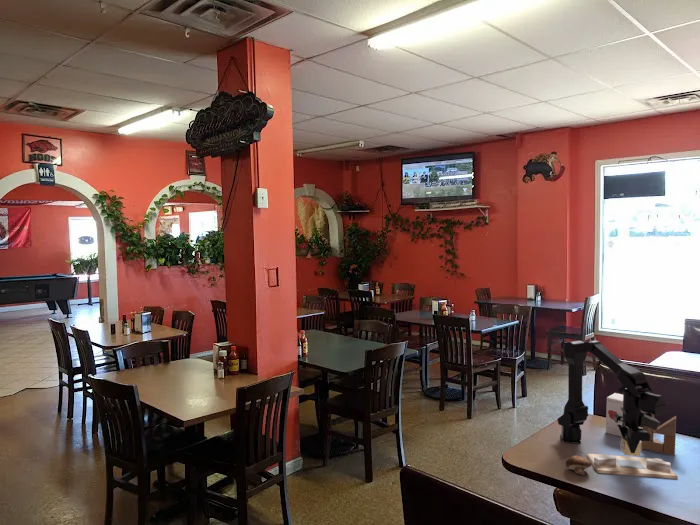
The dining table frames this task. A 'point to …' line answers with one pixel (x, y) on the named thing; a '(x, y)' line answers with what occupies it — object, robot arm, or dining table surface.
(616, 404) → the supplement box
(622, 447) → the block
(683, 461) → the dining table surface
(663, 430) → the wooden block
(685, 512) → the dining table surface
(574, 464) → the mushroom
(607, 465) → the tan board grey square
